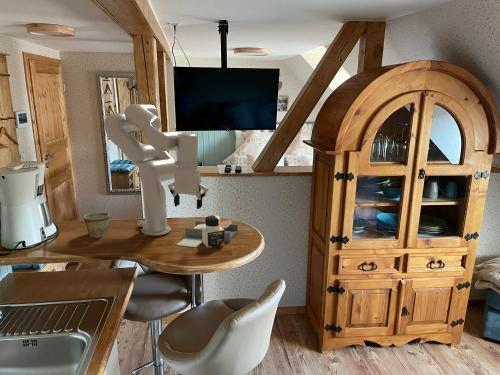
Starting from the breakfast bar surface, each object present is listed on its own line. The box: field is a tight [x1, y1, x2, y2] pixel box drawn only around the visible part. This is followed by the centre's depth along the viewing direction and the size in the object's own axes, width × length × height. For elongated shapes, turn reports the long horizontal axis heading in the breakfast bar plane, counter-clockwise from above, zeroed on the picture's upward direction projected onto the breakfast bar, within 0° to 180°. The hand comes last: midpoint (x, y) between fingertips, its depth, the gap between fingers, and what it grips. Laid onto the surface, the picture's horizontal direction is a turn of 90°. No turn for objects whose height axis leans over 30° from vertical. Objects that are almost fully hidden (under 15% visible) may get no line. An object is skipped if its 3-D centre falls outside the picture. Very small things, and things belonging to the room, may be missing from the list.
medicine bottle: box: [202, 214, 225, 249], centre depth 150 cm, size 7×7×12 cm
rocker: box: [194, 220, 233, 229], centre depth 161 cm, size 16×7×1 cm, turn 74°
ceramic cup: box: [83, 211, 110, 239], centre depth 158 cm, size 13×10×10 cm
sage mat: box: [176, 237, 203, 248], centre depth 152 cm, size 8×8×1 cm
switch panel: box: [184, 220, 239, 243], centre depth 161 cm, size 20×12×5 cm, turn 74°
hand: (188, 206), depth 150 cm, fingers open, 9 cm apart
